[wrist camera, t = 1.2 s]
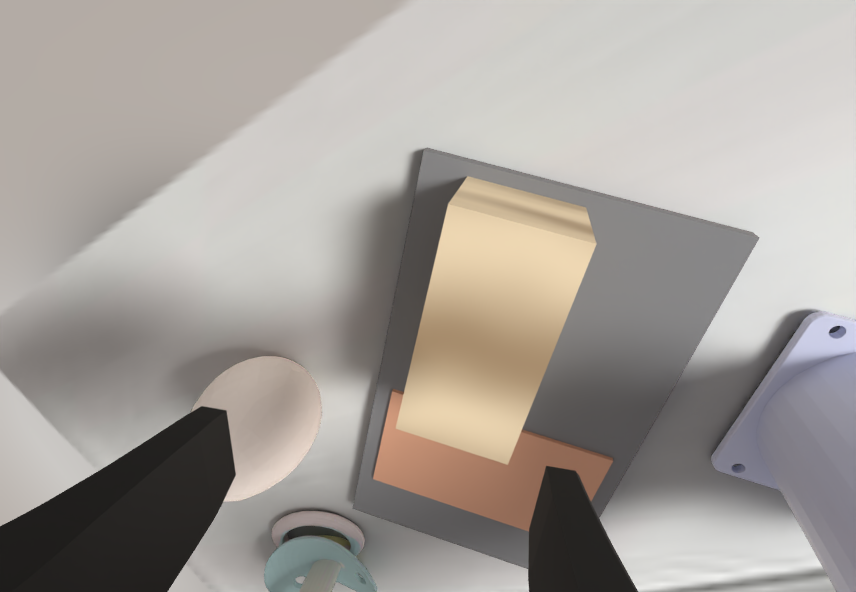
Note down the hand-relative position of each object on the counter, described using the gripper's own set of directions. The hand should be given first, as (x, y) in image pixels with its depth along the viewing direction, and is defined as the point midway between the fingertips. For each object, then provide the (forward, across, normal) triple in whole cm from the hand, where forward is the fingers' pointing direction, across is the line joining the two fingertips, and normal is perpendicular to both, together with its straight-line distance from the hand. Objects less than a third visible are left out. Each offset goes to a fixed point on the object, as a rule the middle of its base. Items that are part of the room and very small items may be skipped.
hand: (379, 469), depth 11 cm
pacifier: (+11, +5, +19) cm, 23 cm away
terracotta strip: (+10, -3, +10) cm, 14 cm away
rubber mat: (+10, -4, +6) cm, 12 cm away
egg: (+11, +7, +7) cm, 15 cm away
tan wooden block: (+10, -2, 0) cm, 10 cm away
